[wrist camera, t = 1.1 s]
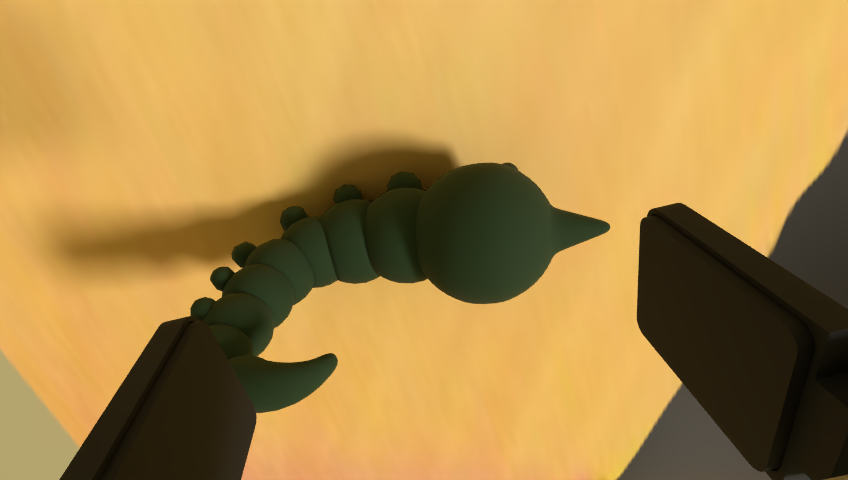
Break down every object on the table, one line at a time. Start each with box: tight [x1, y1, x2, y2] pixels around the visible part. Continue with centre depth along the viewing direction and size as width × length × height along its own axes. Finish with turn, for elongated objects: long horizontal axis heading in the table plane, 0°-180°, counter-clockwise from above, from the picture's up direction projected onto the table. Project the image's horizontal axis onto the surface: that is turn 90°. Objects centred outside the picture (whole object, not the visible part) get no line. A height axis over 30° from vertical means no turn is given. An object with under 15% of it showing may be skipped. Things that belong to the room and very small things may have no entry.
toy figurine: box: [191, 163, 610, 413], centre depth 28 cm, size 9×19×25 cm
